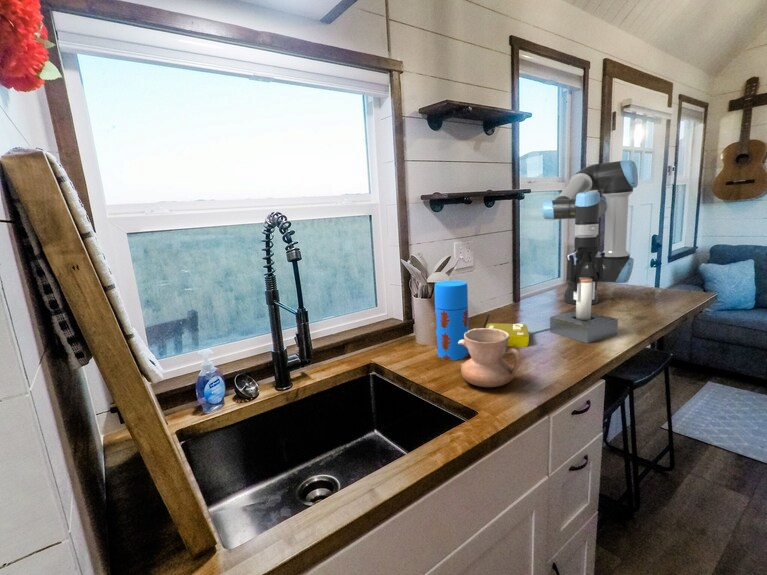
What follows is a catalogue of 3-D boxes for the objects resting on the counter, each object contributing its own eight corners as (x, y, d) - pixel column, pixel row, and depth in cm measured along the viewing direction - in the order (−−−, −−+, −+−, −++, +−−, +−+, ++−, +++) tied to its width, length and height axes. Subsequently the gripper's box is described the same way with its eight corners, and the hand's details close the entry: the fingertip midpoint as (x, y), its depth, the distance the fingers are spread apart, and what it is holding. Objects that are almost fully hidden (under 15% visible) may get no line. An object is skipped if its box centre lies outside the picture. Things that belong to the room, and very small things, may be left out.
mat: (528, 322, 161) (528, 320, 161) (551, 329, 150) (551, 327, 150) (506, 327, 156) (506, 325, 156) (528, 334, 145) (528, 333, 145)
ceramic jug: (448, 384, 109) (446, 336, 106) (471, 366, 120) (470, 323, 117) (510, 400, 98) (510, 348, 95) (528, 379, 109) (529, 331, 106)
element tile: (486, 333, 152) (486, 321, 151) (526, 334, 147) (526, 322, 146) (484, 346, 138) (484, 333, 137) (529, 348, 133) (529, 335, 132)
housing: (578, 324, 154) (579, 310, 152) (617, 334, 139) (617, 318, 138) (549, 331, 147) (550, 316, 146) (587, 343, 133) (587, 326, 132)
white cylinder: (585, 315, 145) (586, 277, 142) (593, 319, 140) (595, 279, 137) (572, 316, 144) (574, 278, 141) (580, 320, 139) (582, 280, 136)
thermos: (460, 362, 123) (458, 287, 119) (431, 356, 130) (428, 285, 125) (474, 351, 132) (472, 281, 127) (446, 346, 138) (444, 279, 134)
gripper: (568, 238, 132) (566, 303, 136) (617, 234, 133) (613, 299, 138) (556, 237, 139) (555, 299, 144) (603, 233, 141) (600, 295, 145)
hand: (583, 299), depth 141 cm, fingers closed on white cylinder, 5 cm apart
